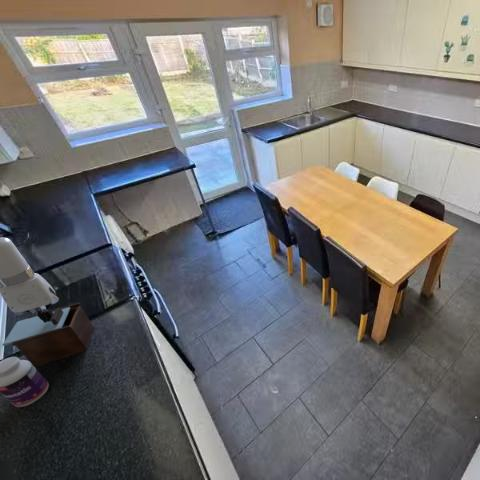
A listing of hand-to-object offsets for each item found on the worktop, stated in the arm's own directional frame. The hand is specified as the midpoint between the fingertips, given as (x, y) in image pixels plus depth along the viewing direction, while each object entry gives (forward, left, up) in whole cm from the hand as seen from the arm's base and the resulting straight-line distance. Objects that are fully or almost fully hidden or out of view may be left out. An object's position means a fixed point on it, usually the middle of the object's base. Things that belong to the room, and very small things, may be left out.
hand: (49, 319), depth 92 cm
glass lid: (-3, 0, -1) cm, 3 cm away
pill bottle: (-5, -18, -14) cm, 23 cm away
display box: (-1, 0, -13) cm, 13 cm away
